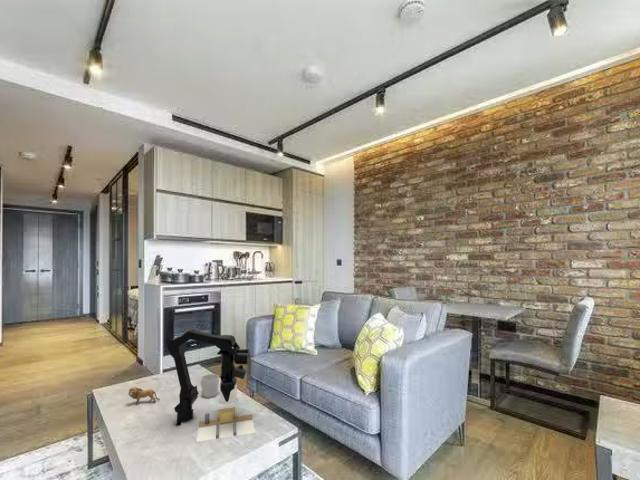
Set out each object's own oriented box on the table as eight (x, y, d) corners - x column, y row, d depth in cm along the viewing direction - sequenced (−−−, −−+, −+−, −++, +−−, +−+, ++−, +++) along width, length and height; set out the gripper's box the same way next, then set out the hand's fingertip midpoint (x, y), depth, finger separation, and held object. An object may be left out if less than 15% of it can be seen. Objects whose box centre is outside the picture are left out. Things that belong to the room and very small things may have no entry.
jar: (222, 407, 162) (222, 384, 162) (217, 401, 169) (218, 378, 169) (239, 403, 167) (239, 380, 167) (234, 397, 174) (234, 375, 174)
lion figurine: (127, 407, 162) (127, 390, 162) (129, 403, 166) (129, 386, 167) (159, 402, 167) (159, 385, 168) (160, 398, 172) (160, 381, 173)
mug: (221, 394, 177) (222, 376, 177) (207, 400, 170) (207, 381, 170) (208, 388, 184) (208, 371, 185) (194, 394, 177) (194, 376, 178)
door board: (196, 444, 130) (196, 432, 131) (199, 424, 146) (199, 412, 146) (254, 435, 137) (255, 423, 137) (252, 416, 153) (252, 405, 153)
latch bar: (217, 424, 144) (217, 414, 144) (217, 419, 148) (217, 409, 148) (235, 421, 146) (235, 411, 146) (235, 416, 151) (235, 407, 151)
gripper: (246, 368, 142) (245, 404, 141) (243, 355, 160) (243, 387, 159) (220, 371, 139) (219, 407, 138) (220, 357, 157) (220, 389, 156)
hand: (226, 397), depth 148 cm, fingers open, 9 cm apart
